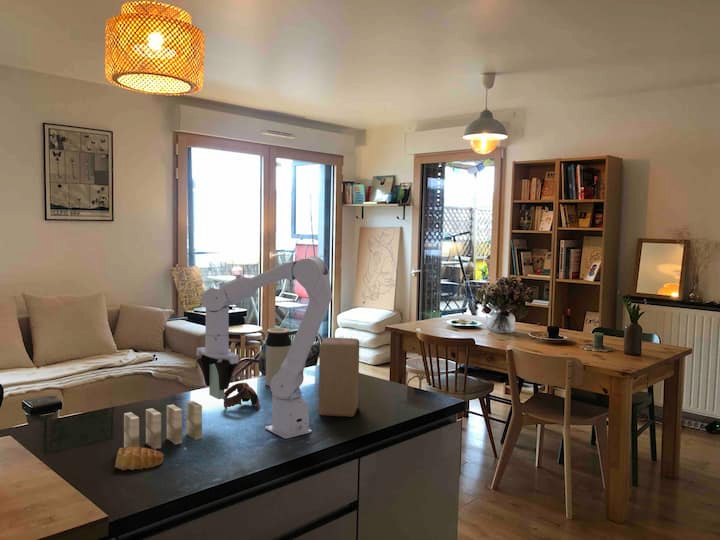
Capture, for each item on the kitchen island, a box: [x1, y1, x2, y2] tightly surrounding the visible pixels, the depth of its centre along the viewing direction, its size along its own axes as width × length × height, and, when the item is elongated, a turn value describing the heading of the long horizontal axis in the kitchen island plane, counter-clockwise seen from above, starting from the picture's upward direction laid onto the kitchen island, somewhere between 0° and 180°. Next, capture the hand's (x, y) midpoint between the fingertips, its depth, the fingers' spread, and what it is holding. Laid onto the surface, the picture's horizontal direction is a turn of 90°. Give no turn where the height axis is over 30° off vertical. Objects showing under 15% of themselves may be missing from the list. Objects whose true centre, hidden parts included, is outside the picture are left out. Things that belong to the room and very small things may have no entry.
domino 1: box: [123, 411, 140, 448], centre depth 132 cm, size 5×2×8 cm, turn 41°
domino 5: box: [208, 364, 225, 400], centre depth 149 cm, size 5×2×8 cm, turn 41°
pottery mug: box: [223, 382, 261, 411], centre depth 165 cm, size 12×10×8 cm
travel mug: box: [265, 327, 292, 387], centre depth 190 cm, size 8×8×18 cm
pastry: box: [114, 445, 164, 471], centre depth 124 cm, size 9×7×4 cm
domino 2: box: [145, 408, 162, 450], centre depth 135 cm, size 5×2×8 cm, turn 41°
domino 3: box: [166, 404, 183, 445], centre depth 138 cm, size 5×2×8 cm, turn 41°
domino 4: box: [186, 400, 203, 441], centre depth 142 cm, size 5×2×8 cm, turn 41°
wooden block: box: [318, 337, 360, 418], centre depth 163 cm, size 10×10×20 cm
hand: (216, 387), depth 149 cm, fingers closed on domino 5, 5 cm apart
